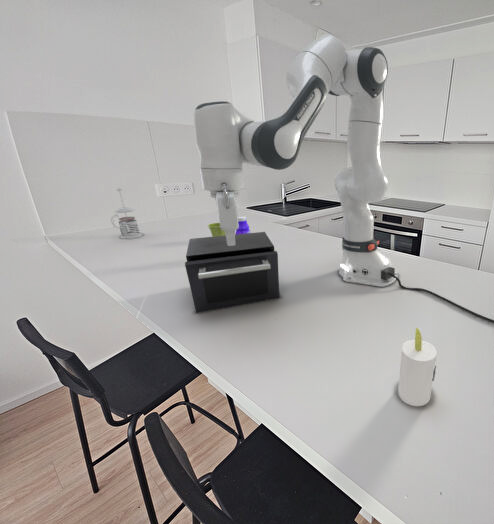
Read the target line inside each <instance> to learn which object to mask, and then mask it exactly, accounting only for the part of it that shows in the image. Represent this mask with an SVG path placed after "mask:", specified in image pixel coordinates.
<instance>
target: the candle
mask: <svg viewBox="0 0 494 524" xmlns="http://www.w3.org/2000/svg"><path fill="white" fill-rule="evenodd" d="M437 352H438V351H437V349H436V347H435V346H434V345H433V344H432V343H430V342H428V341H425V340H423V338H422V332H421V331H420V329H419V328H418V327H416V328H415V334H414V339H409V340H406V341H405V342H403V344H402V346H401V355H400V364H399V365H400V366H399V377H398V388H397V394H398V396H399V398H400V400H401V401H402V402H404V403H405V404H407V405H409V406H412V407H422V406H425V405H427V404H428V403H429V402H430V400H431V396H432V391H433V390H432V388H433V384H434V383H433V382H434V381H435V378H436V377H435V376H436V369H437V365H436V362H437V361H436V360H437V355H438V353H437Z"/></svg>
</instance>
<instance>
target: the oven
mask: <svg viewBox="0 0 494 524" xmlns="http://www.w3.org/2000/svg"><path fill="white" fill-rule="evenodd" d="M235 243H236V244H235V245H234V246H228V245H227V240H226V235H225V236H215V237H212V236H205V237H193V238H189V240H188V243H187V244H188V245H187V250H186V253H185V259H186V262H189V261H197V260H206V259H214V258H222V257H231V256H239V255H247V254H256V253H264V252H272V251H275V245H274V244H273V242H272V240H271V239H270V237H269V236H268V234H267V233H266V231H257V232H251V233H246V234H236V235H235Z"/></svg>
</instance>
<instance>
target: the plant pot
mask: <svg viewBox="0 0 494 524" xmlns="http://www.w3.org/2000/svg"><path fill="white" fill-rule="evenodd" d="M207 227H208V228H209V230H210V234H211V237H215V236H225V231H223V230H221V228H220V222H213V223H208V225H207Z"/></svg>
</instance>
